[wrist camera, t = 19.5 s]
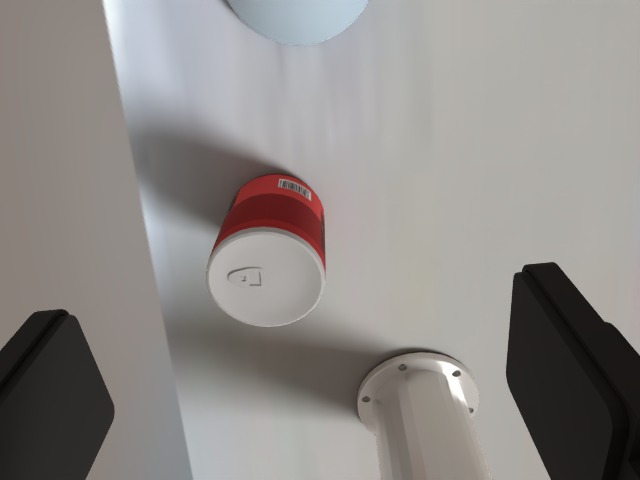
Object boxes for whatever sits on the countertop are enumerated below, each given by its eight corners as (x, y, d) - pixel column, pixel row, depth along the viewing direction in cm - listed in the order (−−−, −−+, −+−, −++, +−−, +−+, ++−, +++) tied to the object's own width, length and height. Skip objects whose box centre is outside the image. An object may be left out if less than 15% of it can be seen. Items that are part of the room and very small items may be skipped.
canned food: (218, 183, 41) (187, 247, 32) (310, 160, 40) (307, 217, 31) (248, 260, 45) (228, 338, 35) (334, 240, 44) (337, 315, 34)
